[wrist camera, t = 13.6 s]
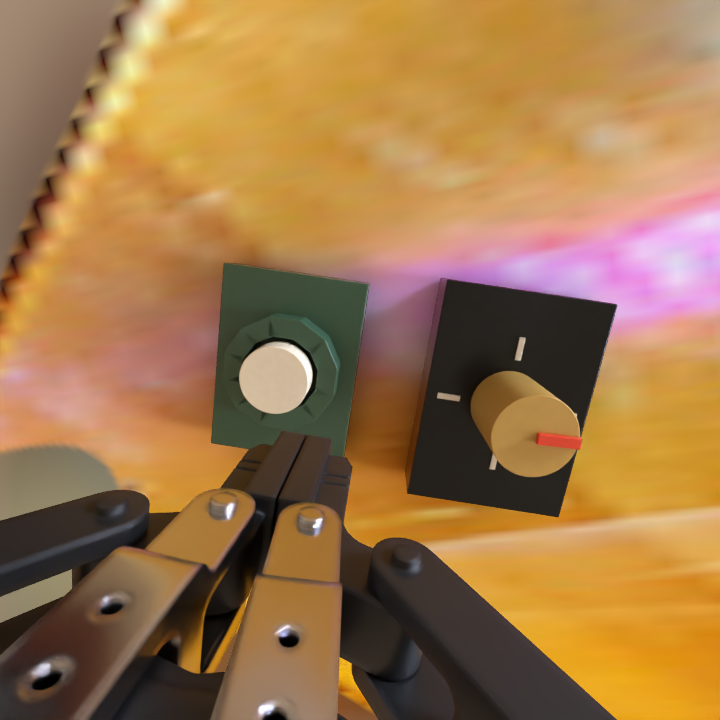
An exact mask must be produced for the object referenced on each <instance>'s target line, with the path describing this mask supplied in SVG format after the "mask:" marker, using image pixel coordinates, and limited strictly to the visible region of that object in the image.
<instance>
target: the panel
mask: <svg viewBox="0 0 720 720" xmlns="http://www.w3.org/2000/svg"><path fill="white" fill-rule="evenodd" d="M616 309H617V304H612V303H606V302H599V301H593V300H586V299H580V298H573V297H566V296H559V295H553V294H546V293H539V292H532V291H526V290H519V289H512V288H505V287H499V286H492V285H485V284H478V283H472V282H465V281H458V280H451V279H445V278H441V279H440V283H439V288H438V294H437V299H436V305H435V310H434V316H433V321H432V327H431V332H430V338H429V343H428V349H427V354H426V359H425V365H424V370H423V376H422V381H421V387H420V392H419V398H418V403H417V409H416V414H415V419H414V425H413V430H412V436H411V441H410V447H409V452H408V458H407V463H406V469H405V477H406V486H407V493H408V494H414V495H420V496H426V497H433V498H439V499H445V500H452V501H458V502H465V503H471V504H477V505H484V506H490V507H496V508H503V509H509V510H515V511H522V512H528V513H535V514H541V515H547V516H554V517H559V514H560V510H561V506H562V503H563V499H564V496H565V492H566V489H567V485H568V481H569V478H570V474H571V471H572V467H573V463H574V460H575V456H576V453H577V449H576V452H575V453H574V455H573V457H572V458H571V459H570V460H569V462H568V463H566V464H565V465H564V466H563V467H562V468H560V469H559V470H557V471H555V472H553V473H551V474H548V475H545V476H540V477H525V476H520V475H517V474H514V473H512V472H510V471H509V470H507V469H506V468H504V467H503V466H502V465H501V464H500V463H499V462H498V460H497V459H496V457H495V456H494V454H493V452H492V451H491V449H490V447H489V446H488V444H487V442H486V441H485V439H484V437H483V436H482V434H481V432H480V431H479V429H478V427H477V426H476V424H475V422H474V420H473V418H472V415H471V407H470V406H471V399H472V396H473V393H474V391H475V390H476V388H477V387H478V385H479V384H480V383H481V382H482V381H483V380H484V379H486V378H487V377H489V376H491V375H493V374H495V373H498V372H503V371H515V372H519V373H523V374H525V375H527V376H528V377H530V378H531V379H533V380H534V381H535V382H537V383H538V384H539V385H541V386H542V387H543V388H545V389H546V390H547V391H549V392H550V393H551V394H553V395H554V396H555V397H557V398H558V399H560V400H561V401H562V402H564V403H565V404H566V405H567V406H568V407H569V408H570V409H571V410H572V411H573V413H574V414H575V416H576V418H577V420H578V423H579V428H580V438H581V435H582V431H583V427H584V424H585V420H586V417H587V413H588V409H589V406H590V402H591V399H592V395H593V391H594V388H595V384H596V381H597V377H598V374H599V370H600V366H601V363H602V359H603V356H604V352H605V348H606V345H607V341H608V338H609V334H610V330H611V327H612V323H613V320H614V316H615V312H616Z"/></svg>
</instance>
